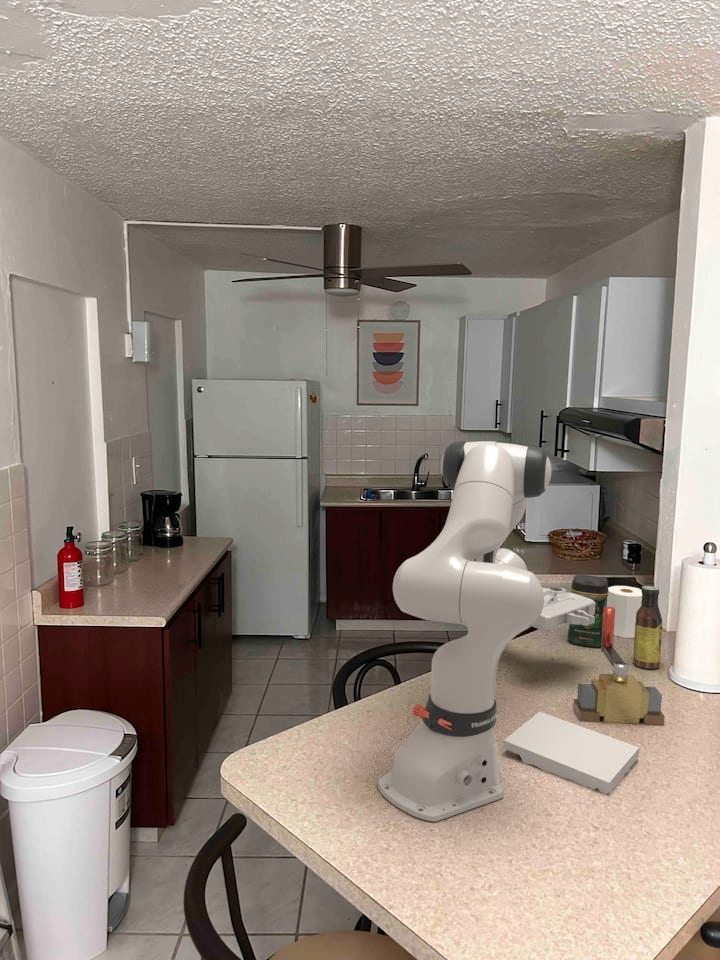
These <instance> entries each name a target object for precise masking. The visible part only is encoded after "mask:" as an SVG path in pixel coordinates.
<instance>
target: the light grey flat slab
mask: <svg viewBox="0 0 720 960" xmlns="http://www.w3.org/2000/svg"><path fill="white" fill-rule="evenodd" d="M503 749H505V750H507V751H509V752H511V753H514V754H516V755H518V756H519V757H520V758H521V759H520V760H521V761H522V763H524V764H526V765H532V766H534V767H537V768H539V769H540V770H542V771H543V772H547V773H550V774H553V775H555V776H558V777H560V778H562V777H563V778H562V779H565V778H566V779H565V780H569V781H571V780H572V781H571V782H573V781H574V782H573V783H576V782H577V783H576V784H578V783H580V784H582V785H581V786H583V785H585V786H584V787H586V788H588V787H589V788H588V789H591V790H593V789H594V790H597V791H599V792H600V793H601V794H603V795H609V794H611V793H612V791H613V790H614V789H615V787H616V786H617V785H618V784H619V783H620V782H621V781H622V780H623V778H624V777H625V775H626V773H629V771H630V769H631V768H632V765H633V764H634V763H636V761H637V759H638V758H639V754H640V753H639V751H640V747H639V746H636V745H633V744H630V743H628V742H625V741H622V740H619V739H616V738H615V737H614V738H613V737H611V736H608V735H605V734H603V733H601V732H597V731H595V730H592V729H589V728H587V727H583V726H581V725H578V724H575V723H572V722H570V721H566V720H564V719H561V718H559V717H556V716H553V715H550V714H548V713H545V712H542V711H538V712H537V713H536V714H534V716H532V717H531V718H529V720H527V721H526V722H524V724H522V725H521V726H520V727H518V728H517V729H516V730H515V731H513V732H512V733H511V734H510V735H508V736H507V737H506V738H505V739H503ZM580 784H579V785H580ZM594 790H593V791H594Z"/></svg>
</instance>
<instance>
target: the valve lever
mask: <svg viewBox="0 0 720 960" xmlns="http://www.w3.org/2000/svg"><path fill="white" fill-rule="evenodd" d="M614 621H615V608H613V607H607V606H605V607H604V614H603V629H602V644H601V646H600V648H601V649H600V652H601V653H603V654H604V656H605V657H606V659H607V661H608V662H609V664H610V665H611V666H612V674H613V679H614V680H616V681H619V682H626V681H628V675H629V669H630V668H629V667H630V666H629V664H628V663H627V662H625V661H624V660H623V658H622V657H621V655H620V654H619V653H618V652H617V650H616V649H615V648H614V636H615V635H614Z"/></svg>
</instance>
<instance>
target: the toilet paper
mask: <svg viewBox="0 0 720 960" xmlns="http://www.w3.org/2000/svg"><path fill="white" fill-rule="evenodd" d="M608 590H609V594H608V597H607V599H606V607H613V608H615V621H614V636H615V637H620V638H623V639H625V638H626V639H633V638H634V636H635V623H636V613H637V611H638V609H639V608H640V607H641V605H642V604H641V602H642V592H641V591H642V588H641V589H640V588H639V587H634V586H633V587H632V586H628V585H612V586H608Z"/></svg>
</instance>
